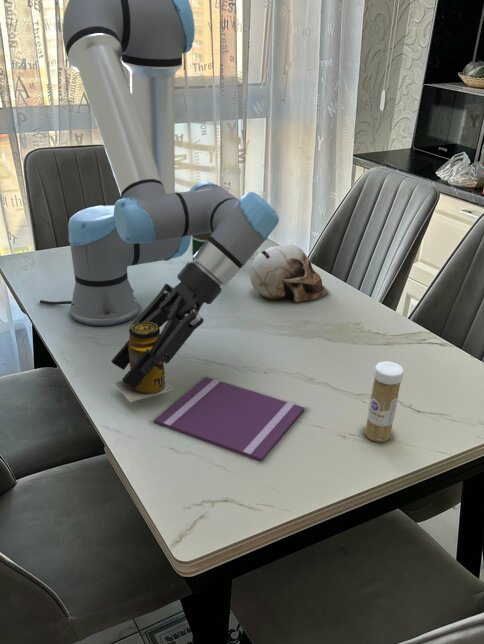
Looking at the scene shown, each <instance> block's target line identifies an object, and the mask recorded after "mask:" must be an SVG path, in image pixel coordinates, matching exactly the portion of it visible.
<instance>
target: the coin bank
mask: <svg viewBox="0 0 484 644" xmlns="http://www.w3.org/2000/svg"><path fill="white" fill-rule="evenodd" d="M250 282H251V286H252V287H253V289H255V290H256V291H257V292H258V293H259V294H260V296H261V297H263V298H266V299H270V300H280V299H287V298H292V301H293V302H294V303H300V302H310V301H314V300H317V299H318V300H320V299H322V298H323V297H324V296H326V295H327V294H328V289H327V288H326V286H324V285H323V280H322V277H321V275H320V274H319V273H318V272H317V271H315V270H314V267H313V266H312V260H310V258H309V256H307V254H306V253H305V252H304V251H303V249H301V248H300V247H299V246H296V245H294V244H291V243H290V244H281V245H274V246H271V247H268V248H265V249H264V250H262V251H260V252H259V253H257V256H255V258H254V259H253V261H252V263H251V267H250Z"/></svg>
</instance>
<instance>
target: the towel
mask: <svg viewBox="0 0 484 644" xmlns="http://www.w3.org/2000/svg"><path fill="white" fill-rule="evenodd" d="M304 411H305V407H304V406H301V405H299V404H298V405H297V404H295V403H293V402H290V401H285V400H281V399H279V398H276V397H272V396H269V395H266V394H262V393H259V392H256V391H254V390H250V389H246V388H244V387H240V386H238V385H234V384H231V383H228V382H225V381H221V380H220V379H216V378H212V377H208V376H205V377H203V378H202V379H201V380H200V381H198V382H197V383H196V384H195V385H194V386H193V387H192V388H191V389H189V390H188V391H187V392H186V393H185V394H183V395H182V396H181V397H180V398H178V399H177V400H176V401H175V402H174V403H173V404H171V405H170V406H169V407H168V408H166V409H165V410H164V411H163V412H162V413H160V414H159V415H158V416H157V417H156V418H154V420H153V423H155V424H157V425H160V426H163V427H165V428H168V429H171V430H173V431H174V430H175V431H177V432H179V433H182V434H184V435H188V436H190V437H193V438H196V439H198V440H201V441H203V442H207V443H210V444H212V445H214V446H218V447H220V448H224V449H226V450H229V451H231V452H234V453H237V454H240V455H243V456H245V457H249V458H251V459H254V460H257V461H260V462H262V461H263V460H264V458H265V457H266V456H267V455H268V454H269V453H270V451H271V450H272V449H273V448H274V447H275V446H276V445H277V443H278V442H279V441H280V440H281V439H282V437H283V436H284V435H285V434H286V433H287V432H288V431H289V429H290V428H291V427H292V426H293V424H295V422H296V421H297V420H298V418H300V416H301V415H302V414H303V412H304Z"/></svg>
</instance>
